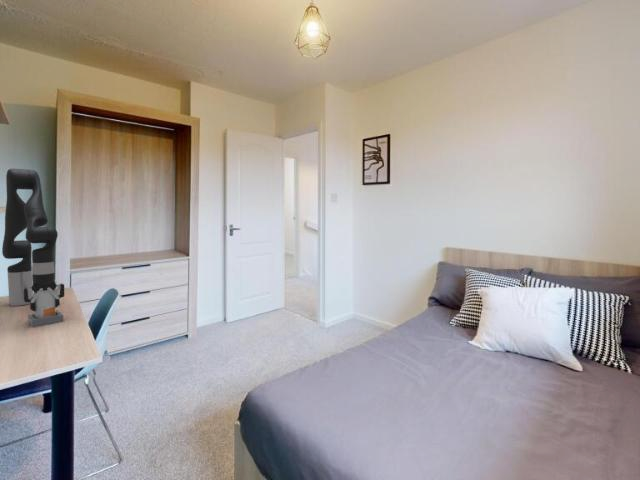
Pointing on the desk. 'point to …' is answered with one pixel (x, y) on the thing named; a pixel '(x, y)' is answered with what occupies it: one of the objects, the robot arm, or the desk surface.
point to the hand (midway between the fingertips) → (45, 308)
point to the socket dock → (45, 319)
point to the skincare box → (44, 304)
